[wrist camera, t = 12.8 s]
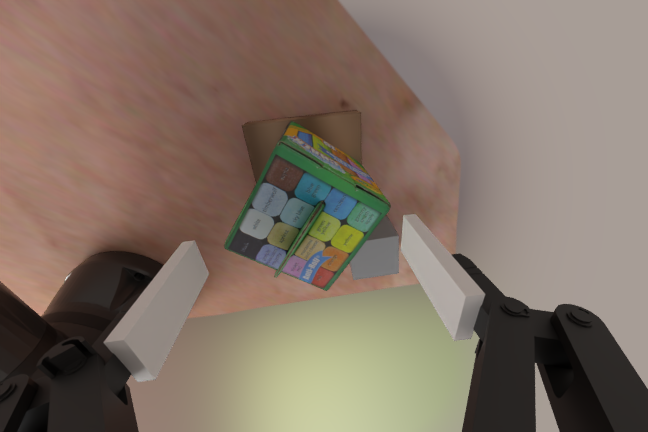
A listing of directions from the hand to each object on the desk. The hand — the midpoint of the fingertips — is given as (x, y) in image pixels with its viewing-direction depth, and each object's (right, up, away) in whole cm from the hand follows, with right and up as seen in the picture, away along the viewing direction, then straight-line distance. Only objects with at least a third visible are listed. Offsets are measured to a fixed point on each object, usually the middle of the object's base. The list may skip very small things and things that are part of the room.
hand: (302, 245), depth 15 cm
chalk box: (0, +6, +12) cm, 13 cm away
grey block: (+8, -1, +19) cm, 21 cm away
